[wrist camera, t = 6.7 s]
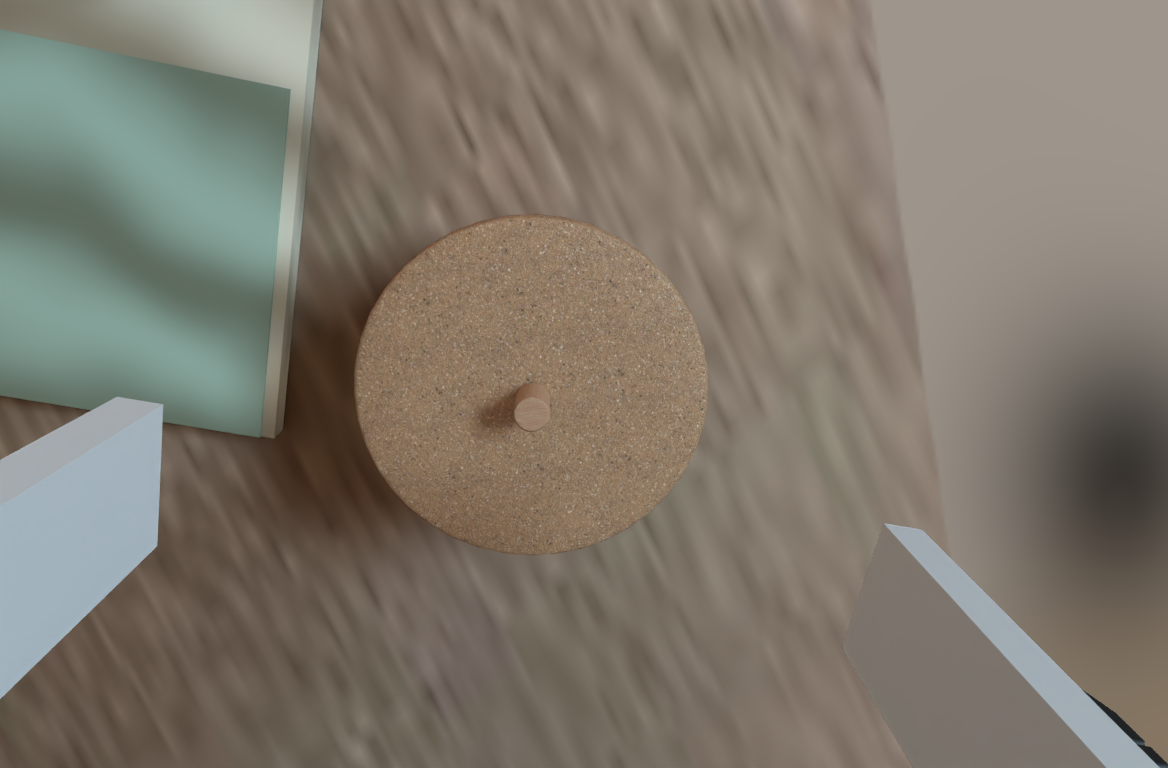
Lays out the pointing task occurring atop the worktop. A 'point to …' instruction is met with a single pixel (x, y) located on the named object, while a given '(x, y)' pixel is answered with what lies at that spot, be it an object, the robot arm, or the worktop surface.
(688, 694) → the worktop surface
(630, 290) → the lidded jar
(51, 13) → the game board
